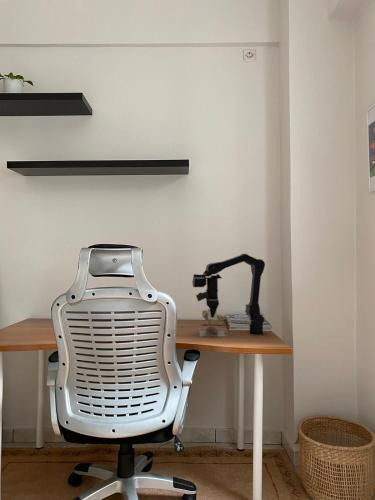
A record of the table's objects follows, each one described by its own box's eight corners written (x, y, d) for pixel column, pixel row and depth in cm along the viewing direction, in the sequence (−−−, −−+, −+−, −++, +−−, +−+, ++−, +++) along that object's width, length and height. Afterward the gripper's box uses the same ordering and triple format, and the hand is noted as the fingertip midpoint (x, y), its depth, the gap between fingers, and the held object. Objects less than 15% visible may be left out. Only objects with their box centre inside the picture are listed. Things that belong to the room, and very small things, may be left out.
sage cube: (216, 318, 203) (216, 309, 204) (216, 319, 199) (216, 310, 199) (207, 318, 204) (207, 309, 204) (207, 319, 199) (208, 310, 199)
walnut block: (217, 332, 204) (217, 326, 204) (217, 334, 198) (217, 328, 198) (206, 332, 204) (206, 326, 204) (206, 334, 198) (206, 328, 198)
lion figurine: (201, 325, 226) (201, 310, 226) (202, 324, 232) (202, 309, 232) (226, 326, 225) (226, 311, 225) (226, 324, 230) (226, 309, 230)
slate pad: (223, 331, 208) (223, 330, 208) (225, 337, 194) (225, 336, 194) (199, 331, 208) (199, 330, 208) (199, 336, 194) (199, 336, 194)
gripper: (197, 285, 211) (197, 314, 211) (196, 288, 193) (196, 319, 192) (217, 285, 211) (217, 314, 211) (218, 288, 192) (218, 319, 192)
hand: (212, 316), depth 201 cm, fingers closed on sage cube, 4 cm apart
